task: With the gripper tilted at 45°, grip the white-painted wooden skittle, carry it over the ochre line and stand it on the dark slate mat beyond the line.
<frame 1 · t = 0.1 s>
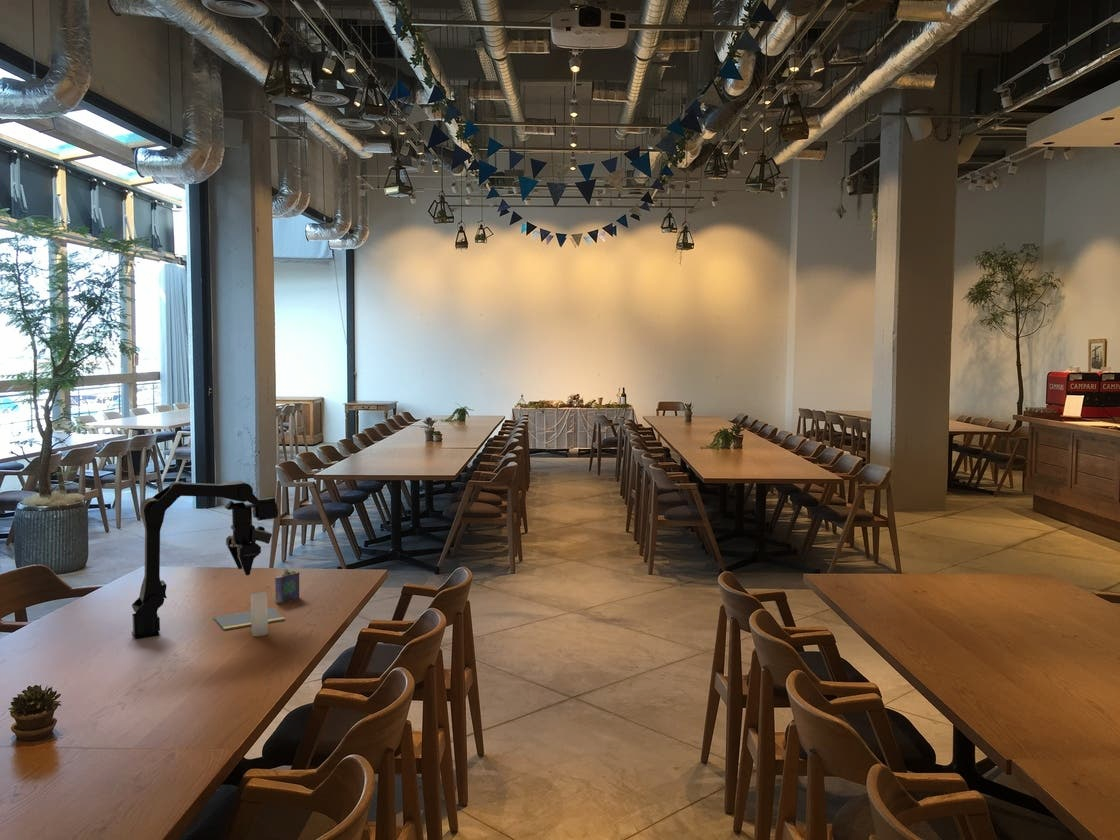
hand: (243, 572, 269), 15 cm above the table, tool pointing down, fingers open, 9 cm apart
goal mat: (249, 619, 269), on the table
skittle: (259, 633, 256), on the table
flask: (287, 601, 290), on the table
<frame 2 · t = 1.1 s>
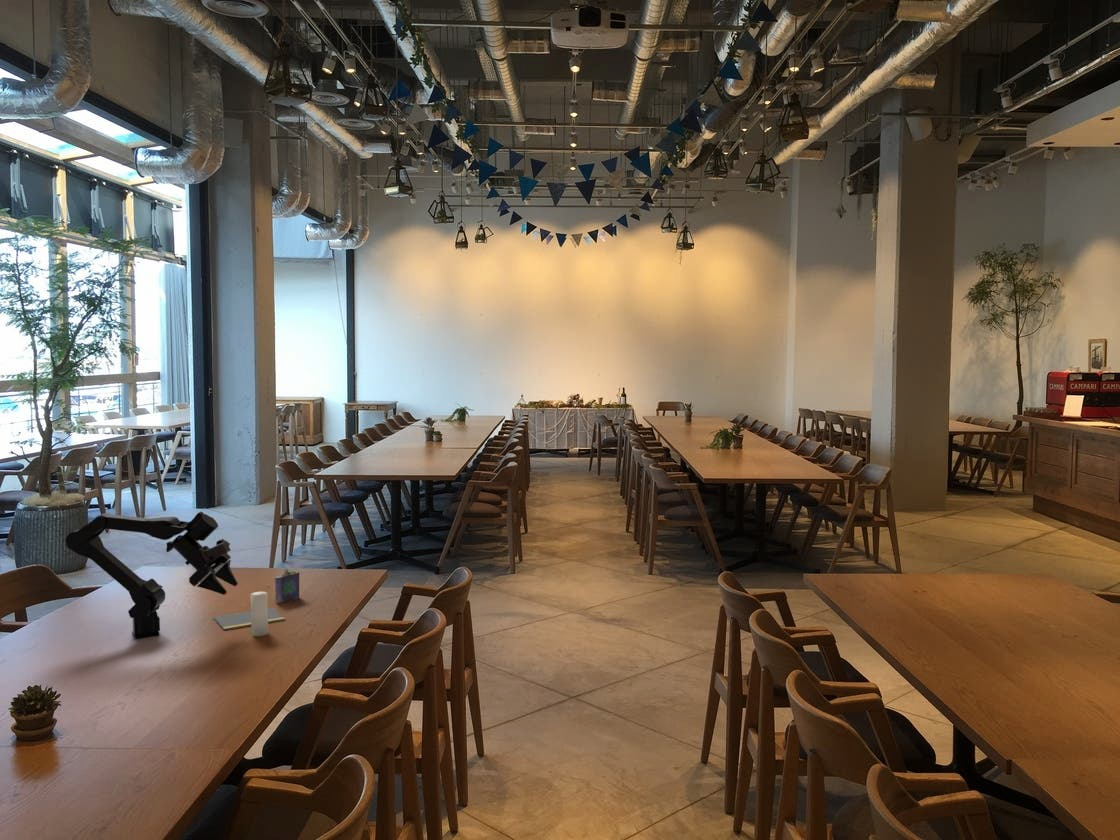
hand: (231, 589, 255), 13 cm above the table, tool tilted 45°, fingers open, 9 cm apart
nothing on the table moved.
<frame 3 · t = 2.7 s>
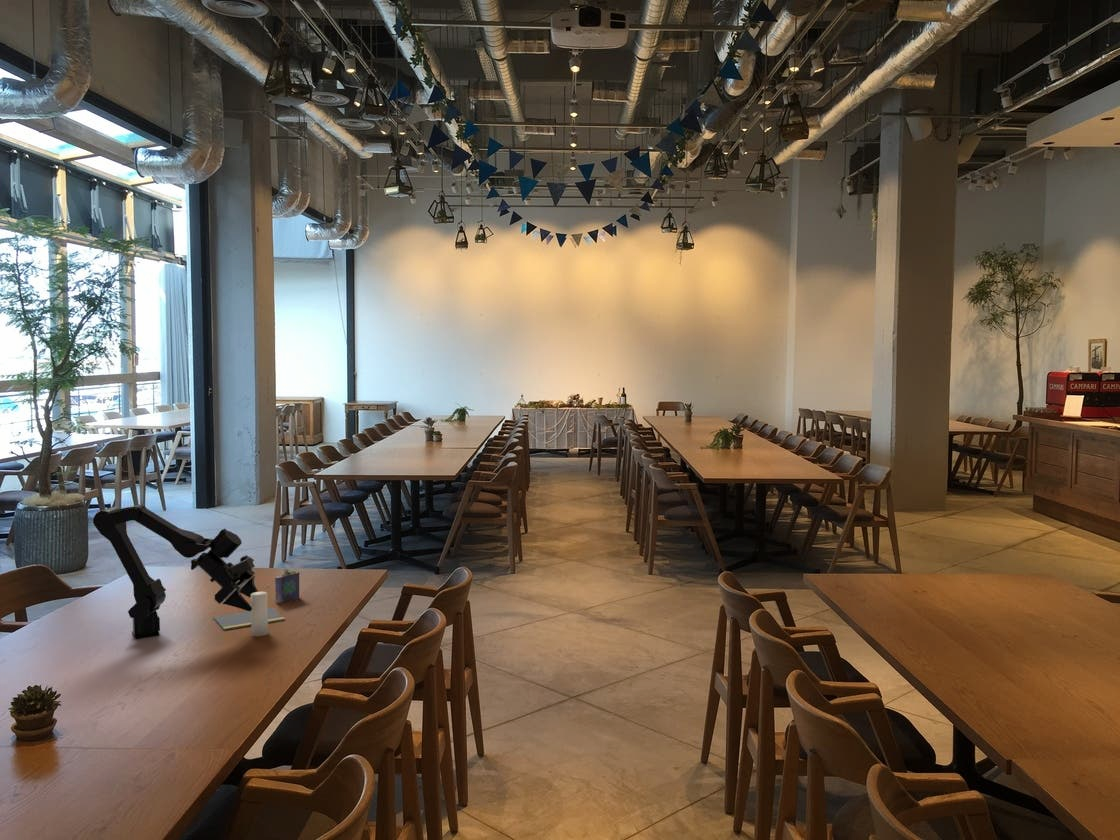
hand: (256, 605, 255), 9 cm above the table, tool tilted 45°, fingers open, 9 cm apart
nothing on the table moved.
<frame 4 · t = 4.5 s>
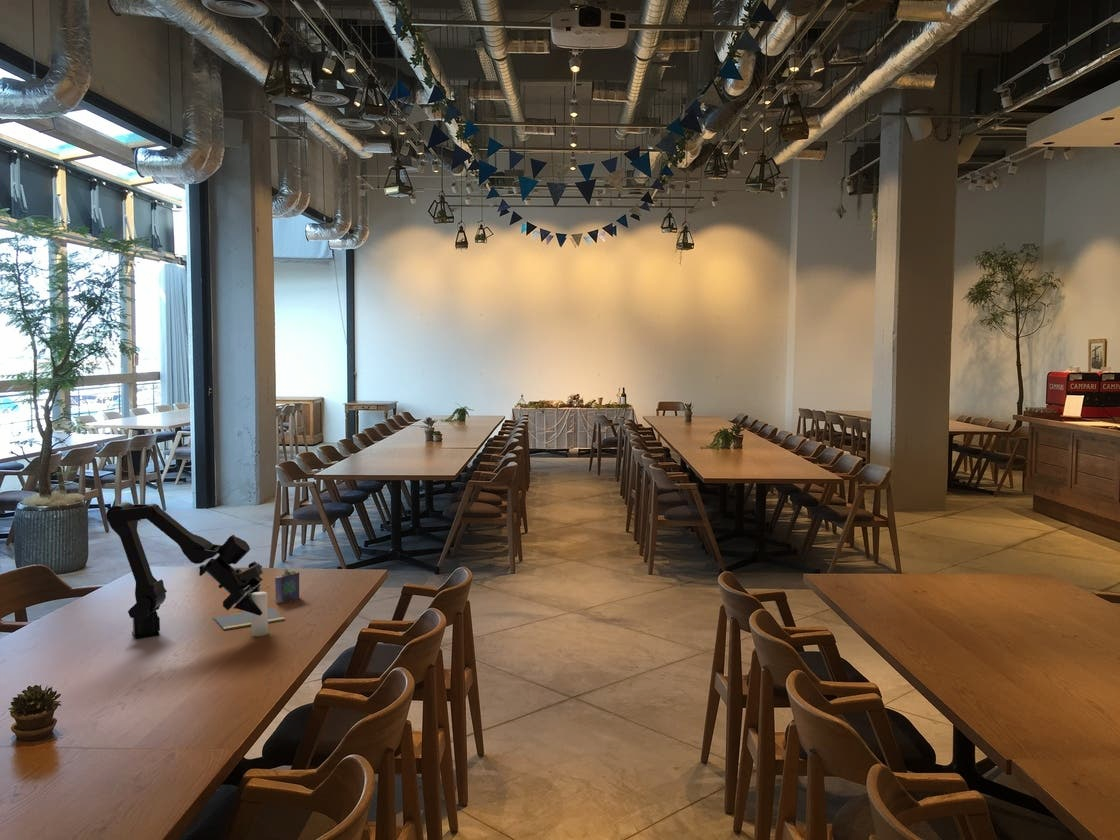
hand: (264, 611, 255), 7 cm above the table, tool tilted 45°, fingers closed on skittle, 5 cm apart
skittle: (259, 633, 256), on the table, touching gripper
everything else where it was.
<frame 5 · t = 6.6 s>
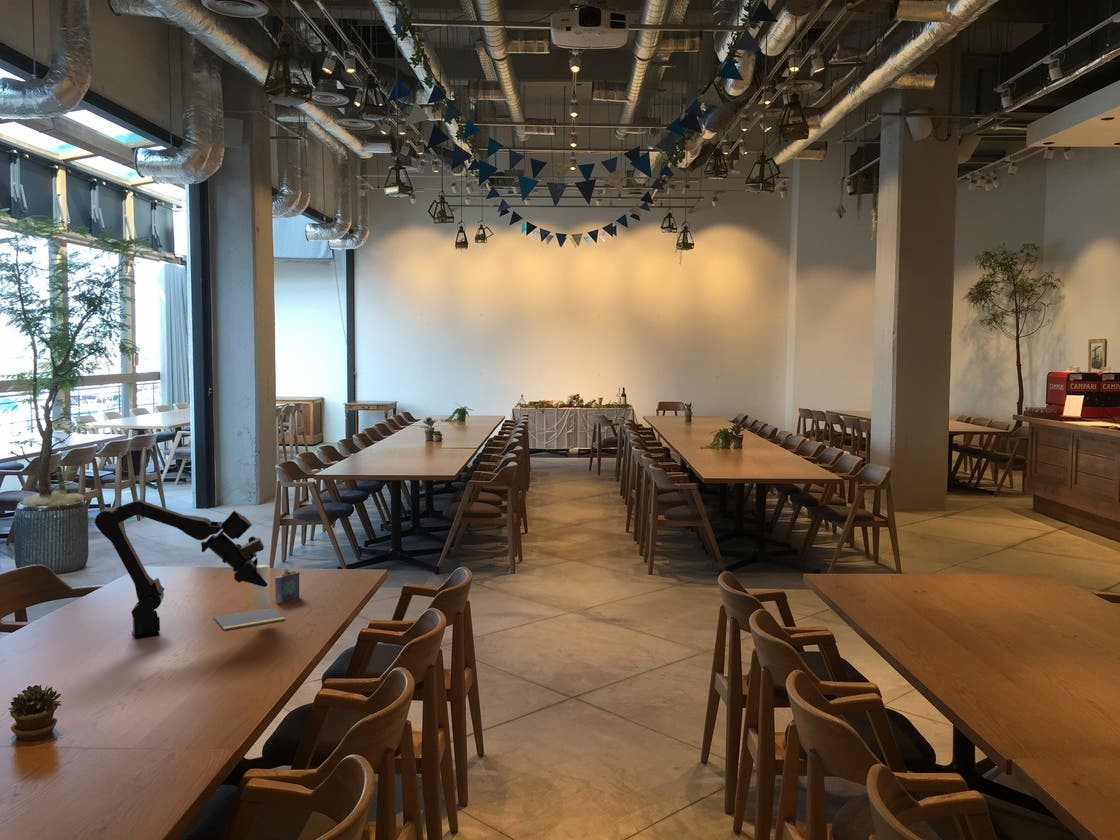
hand: (266, 583, 264), 12 cm above the table, tool tilted 45°, fingers closed on skittle, 5 cm apart
skittle: (262, 605, 264), point 6 cm above the table, touching gripper
everything else where it was.
when the fingers open (8 cm above the table, at t = 9.0 s): skittle stays where it is, resting on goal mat.
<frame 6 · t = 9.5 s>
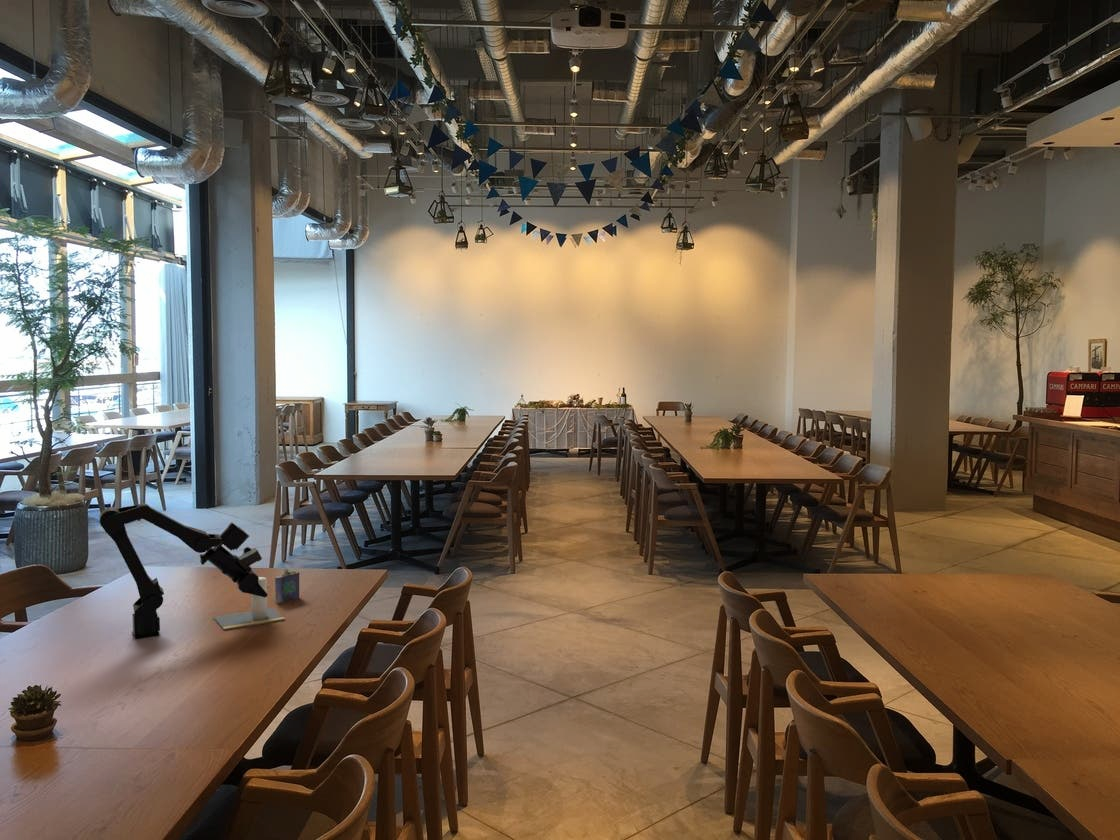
hand: (263, 592, 270), 8 cm above the table, tool tilted 45°, fingers open, 9 cm apart
skittle: (259, 617, 270), point 1 cm above the table, touching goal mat
everything else where it was.
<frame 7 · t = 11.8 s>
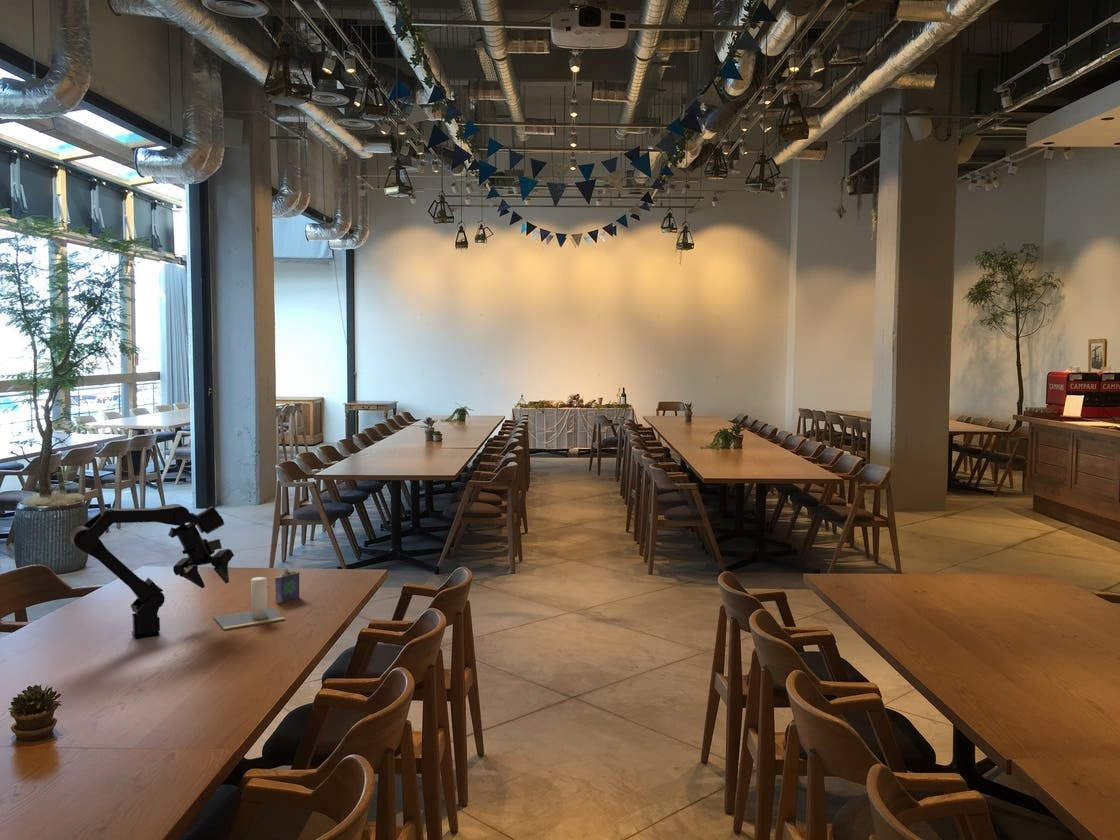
hand: (215, 585, 266), 11 cm above the table, tool tilted 25°, fingers open, 9 cm apart
nothing on the table moved.
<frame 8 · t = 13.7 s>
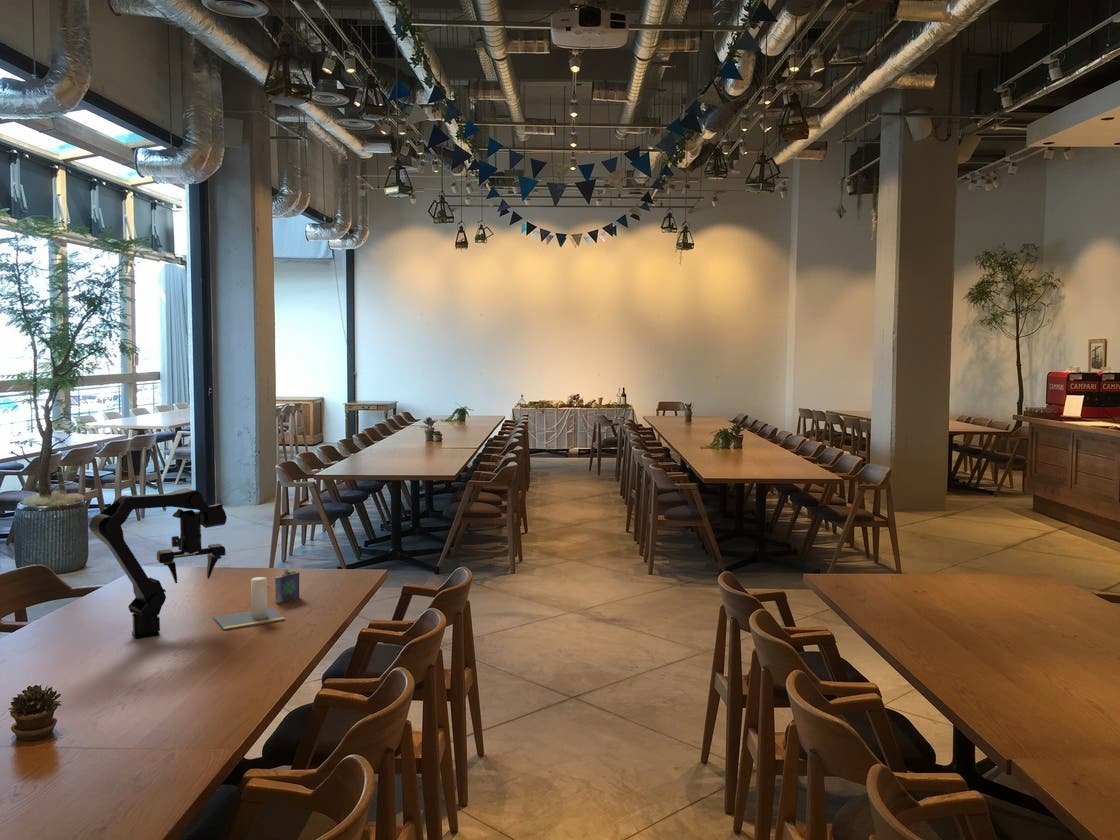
hand: (192, 580, 265), 13 cm above the table, tool pointing down, fingers open, 9 cm apart
nothing on the table moved.
at the end: skittle inside the target area (2.1 cm from its centre), point 0.5 cm above the table; skittle tilted 0°; the gripper is holding nothing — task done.
